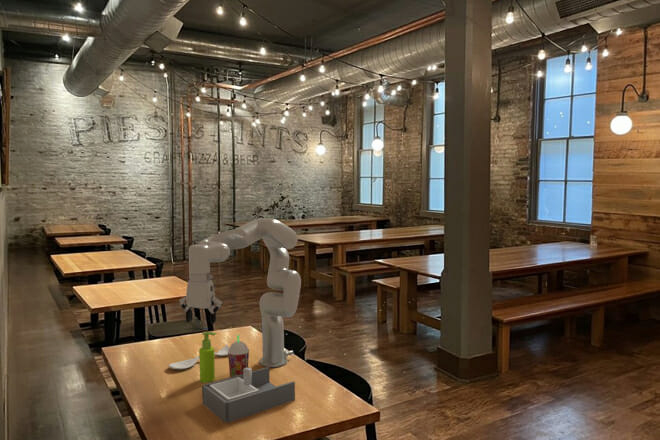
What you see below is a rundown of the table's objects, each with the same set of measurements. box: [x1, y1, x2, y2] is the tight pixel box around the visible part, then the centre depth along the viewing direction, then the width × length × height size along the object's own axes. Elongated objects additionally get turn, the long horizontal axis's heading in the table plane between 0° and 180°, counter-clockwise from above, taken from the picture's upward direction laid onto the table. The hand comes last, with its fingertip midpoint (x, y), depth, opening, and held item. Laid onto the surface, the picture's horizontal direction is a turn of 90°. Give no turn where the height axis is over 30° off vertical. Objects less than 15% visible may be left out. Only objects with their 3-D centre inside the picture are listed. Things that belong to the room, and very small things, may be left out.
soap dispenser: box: [198, 331, 217, 384], centre depth 205 cm, size 6×7×20 cm
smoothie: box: [227, 334, 250, 378], centre depth 201 cm, size 8×8×20 cm
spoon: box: [168, 344, 230, 370], centre depth 226 cm, size 9×32×4 cm, turn 136°
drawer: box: [209, 367, 259, 401], centre depth 182 cm, size 13×15×11 cm
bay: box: [201, 367, 296, 424], centre depth 185 cm, size 28×19×7 cm
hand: (201, 322), depth 190 cm, fingers open, 9 cm apart
